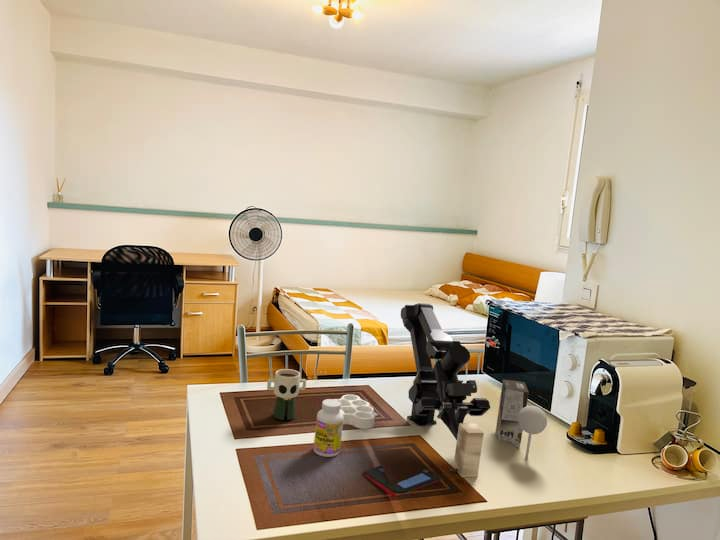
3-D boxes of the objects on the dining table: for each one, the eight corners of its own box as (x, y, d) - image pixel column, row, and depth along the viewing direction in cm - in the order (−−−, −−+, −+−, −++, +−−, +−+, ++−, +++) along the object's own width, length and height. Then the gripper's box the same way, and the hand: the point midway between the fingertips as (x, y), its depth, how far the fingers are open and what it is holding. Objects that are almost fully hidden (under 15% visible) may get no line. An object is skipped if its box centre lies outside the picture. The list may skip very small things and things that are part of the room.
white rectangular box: (445, 466, 124) (451, 423, 122) (468, 465, 125) (474, 423, 124) (453, 477, 119) (459, 432, 118) (477, 476, 120) (483, 432, 119)
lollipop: (540, 458, 136) (548, 405, 134) (540, 471, 129) (549, 414, 128) (512, 452, 138) (520, 399, 136) (511, 463, 132) (519, 408, 130)
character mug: (265, 422, 140) (269, 377, 138) (263, 412, 147) (267, 368, 145) (305, 422, 143) (309, 377, 142) (300, 411, 150) (304, 368, 148)
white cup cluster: (320, 405, 157) (364, 404, 162) (335, 431, 140) (385, 429, 145) (321, 394, 157) (366, 393, 162) (336, 419, 140) (386, 418, 145)
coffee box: (520, 448, 141) (529, 392, 139) (496, 443, 142) (505, 388, 140) (517, 434, 150) (525, 381, 148) (495, 430, 151) (502, 378, 149)
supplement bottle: (308, 453, 126) (313, 403, 124) (320, 442, 132) (325, 395, 130) (333, 460, 124) (338, 410, 122) (344, 449, 130) (349, 401, 128)
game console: (406, 461, 128) (407, 453, 128) (443, 486, 118) (444, 477, 118) (360, 475, 119) (361, 466, 119) (396, 503, 109) (397, 493, 109)
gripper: (424, 366, 128) (434, 427, 119) (492, 368, 132) (507, 428, 123) (410, 385, 137) (419, 443, 127) (475, 386, 141) (488, 443, 132)
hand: (458, 439), depth 127 cm, fingers closed
